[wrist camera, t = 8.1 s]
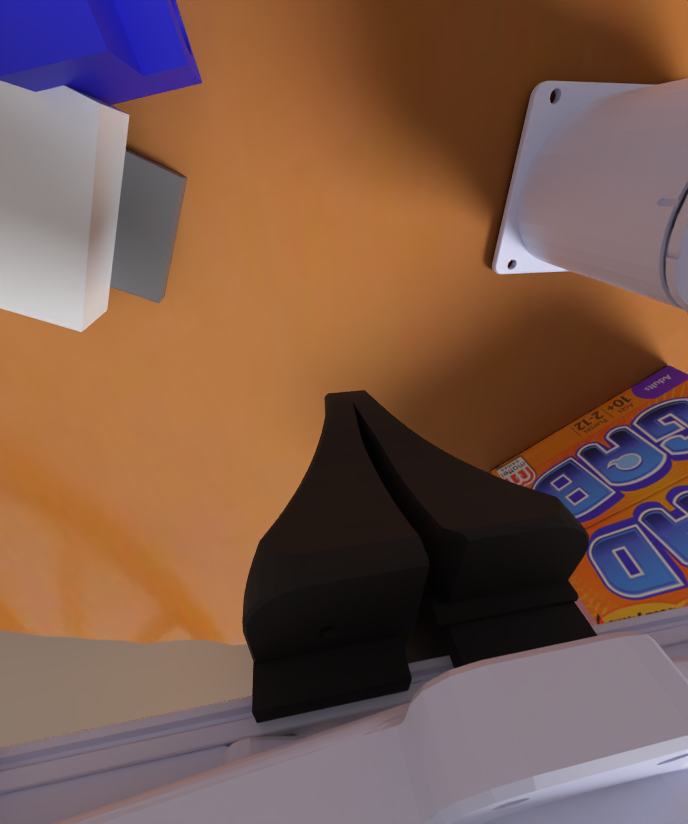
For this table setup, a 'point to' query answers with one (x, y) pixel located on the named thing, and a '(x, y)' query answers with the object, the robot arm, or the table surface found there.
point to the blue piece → (96, 47)
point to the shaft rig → (78, 208)
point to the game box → (623, 495)
